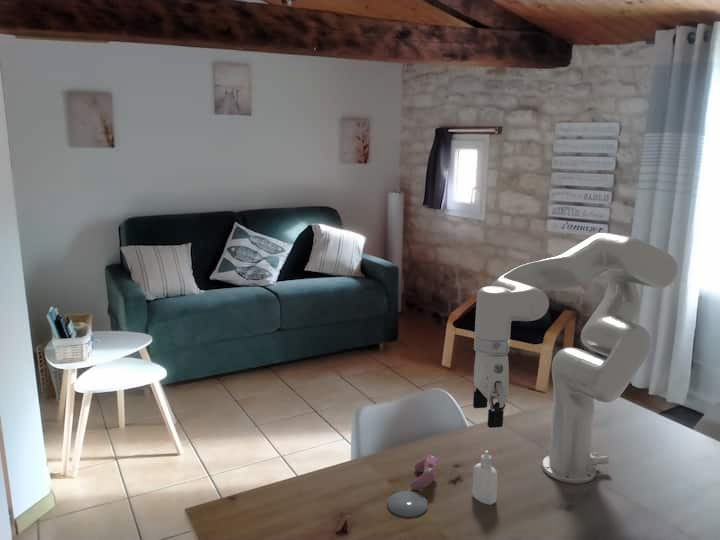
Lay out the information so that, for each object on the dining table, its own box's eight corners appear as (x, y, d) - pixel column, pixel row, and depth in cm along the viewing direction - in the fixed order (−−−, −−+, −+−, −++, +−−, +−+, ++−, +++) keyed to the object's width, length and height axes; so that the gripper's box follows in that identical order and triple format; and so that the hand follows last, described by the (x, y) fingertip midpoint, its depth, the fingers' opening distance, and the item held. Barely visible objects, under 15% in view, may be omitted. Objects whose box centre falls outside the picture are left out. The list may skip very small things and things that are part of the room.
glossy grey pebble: (422, 492, 142) (422, 489, 142) (431, 515, 133) (431, 512, 133) (384, 495, 141) (384, 492, 141) (391, 518, 132) (391, 516, 132)
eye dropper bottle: (487, 490, 143) (490, 444, 140) (498, 504, 137) (501, 456, 135) (470, 493, 142) (472, 446, 139) (480, 507, 136) (482, 458, 134)
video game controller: (425, 498, 142) (440, 476, 140) (408, 488, 143) (422, 466, 141) (429, 476, 152) (443, 454, 150) (413, 467, 152) (426, 445, 150)
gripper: (524, 356, 124) (518, 434, 127) (494, 331, 140) (490, 400, 144) (488, 358, 123) (484, 436, 126) (463, 332, 139) (459, 401, 143)
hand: (487, 416), depth 135 cm, fingers open, 9 cm apart
